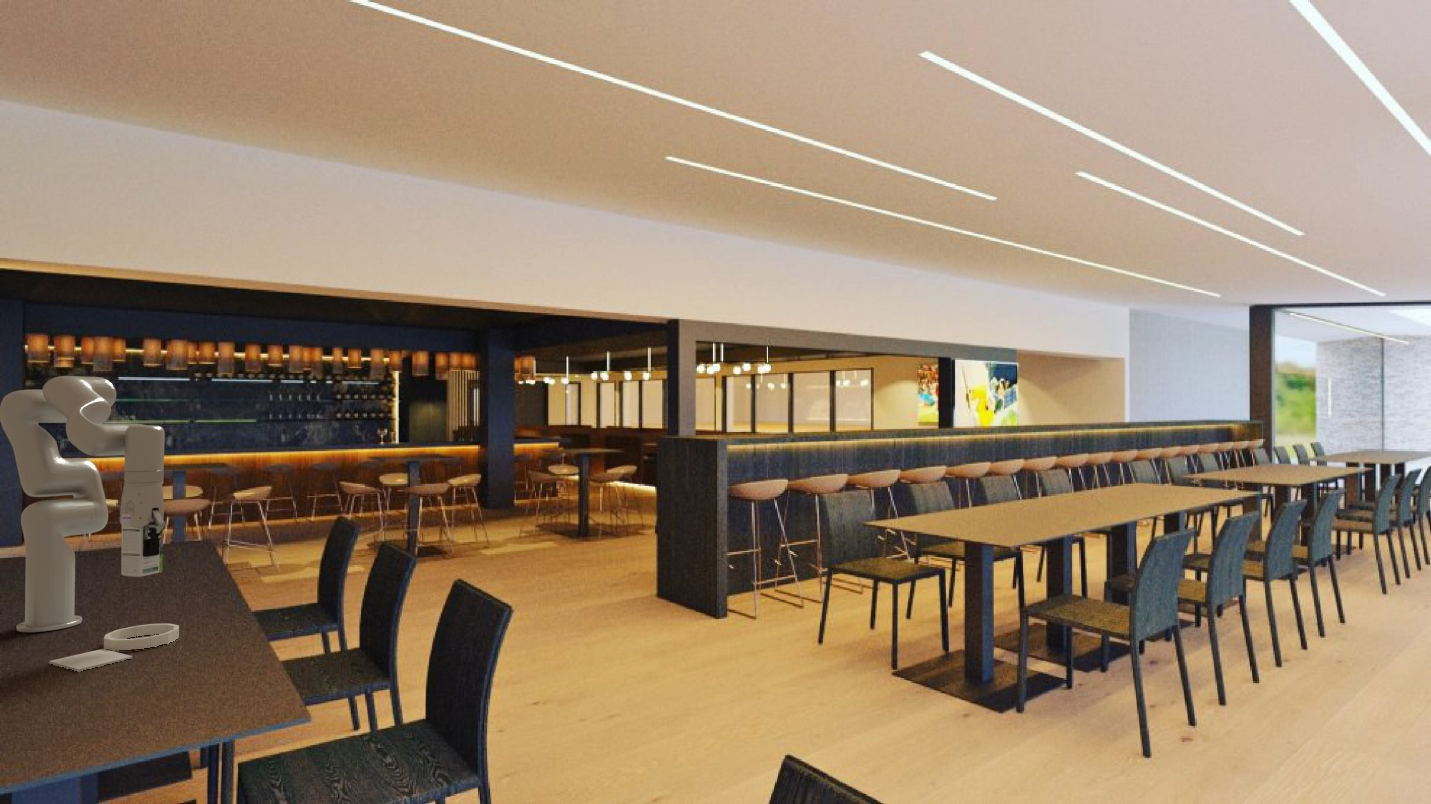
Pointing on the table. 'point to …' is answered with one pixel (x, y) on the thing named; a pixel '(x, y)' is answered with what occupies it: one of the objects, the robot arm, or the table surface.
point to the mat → (90, 660)
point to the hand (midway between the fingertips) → (142, 553)
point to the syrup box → (138, 552)
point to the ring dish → (120, 641)
